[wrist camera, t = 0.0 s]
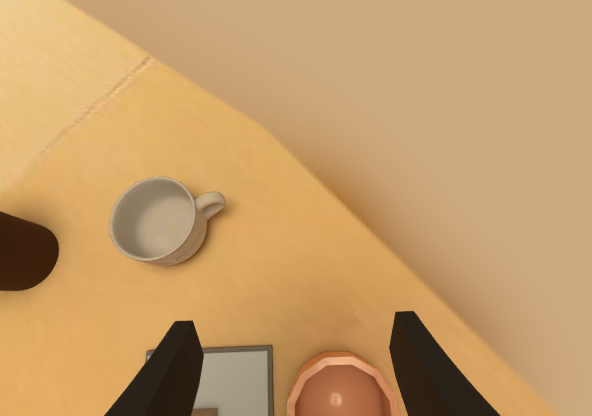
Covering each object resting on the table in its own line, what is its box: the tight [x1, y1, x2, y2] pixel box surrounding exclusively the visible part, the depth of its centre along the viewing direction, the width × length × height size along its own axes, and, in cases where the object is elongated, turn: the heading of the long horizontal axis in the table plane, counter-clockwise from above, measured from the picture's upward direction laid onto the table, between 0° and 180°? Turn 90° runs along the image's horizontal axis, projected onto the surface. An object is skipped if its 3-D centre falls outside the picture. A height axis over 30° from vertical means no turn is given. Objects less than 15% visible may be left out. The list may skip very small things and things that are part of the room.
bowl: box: [287, 351, 399, 416], centre depth 37 cm, size 12×12×5 cm
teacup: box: [109, 177, 225, 266], centre depth 42 cm, size 14×11×8 cm
